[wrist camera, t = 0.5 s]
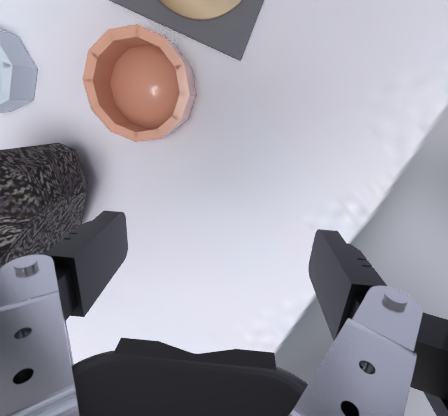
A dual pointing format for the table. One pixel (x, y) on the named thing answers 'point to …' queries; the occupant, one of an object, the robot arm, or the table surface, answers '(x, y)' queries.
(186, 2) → the lid
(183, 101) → the bowl
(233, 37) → the mat
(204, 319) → the table surface
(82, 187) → the decorative stone
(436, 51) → the table surface
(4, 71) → the small bowl
